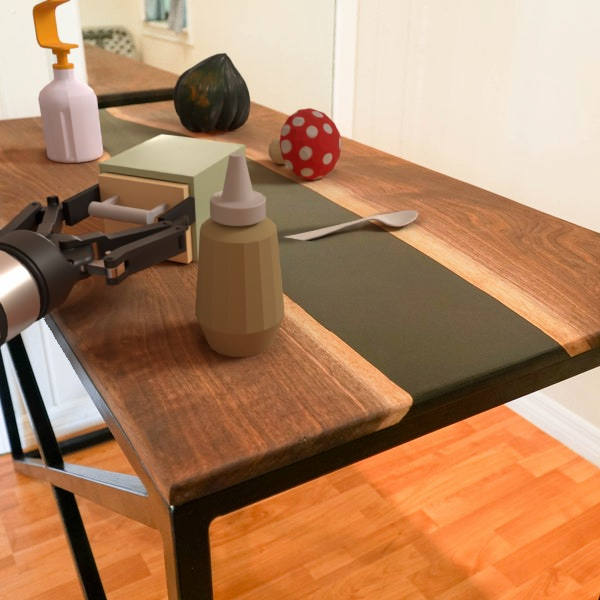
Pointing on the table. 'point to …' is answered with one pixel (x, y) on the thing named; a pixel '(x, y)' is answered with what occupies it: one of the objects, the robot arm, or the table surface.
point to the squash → (212, 96)
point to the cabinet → (180, 169)
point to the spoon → (388, 219)
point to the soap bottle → (65, 98)
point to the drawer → (138, 204)
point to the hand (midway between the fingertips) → (146, 201)
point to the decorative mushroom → (307, 144)
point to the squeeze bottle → (239, 269)
